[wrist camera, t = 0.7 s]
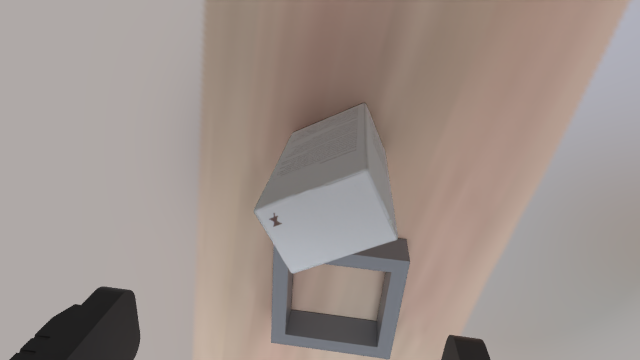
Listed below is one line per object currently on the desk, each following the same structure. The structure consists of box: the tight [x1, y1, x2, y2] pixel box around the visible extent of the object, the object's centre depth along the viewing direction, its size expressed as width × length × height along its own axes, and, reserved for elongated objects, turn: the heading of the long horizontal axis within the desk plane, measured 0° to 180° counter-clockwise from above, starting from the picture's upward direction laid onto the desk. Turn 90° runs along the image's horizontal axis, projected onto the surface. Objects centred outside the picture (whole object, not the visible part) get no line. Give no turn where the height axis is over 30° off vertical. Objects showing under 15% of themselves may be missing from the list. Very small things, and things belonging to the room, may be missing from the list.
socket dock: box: [271, 238, 410, 359], centre depth 34 cm, size 10×10×3 cm
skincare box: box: [254, 103, 398, 274], centre depth 24 cm, size 6×4×12 cm
